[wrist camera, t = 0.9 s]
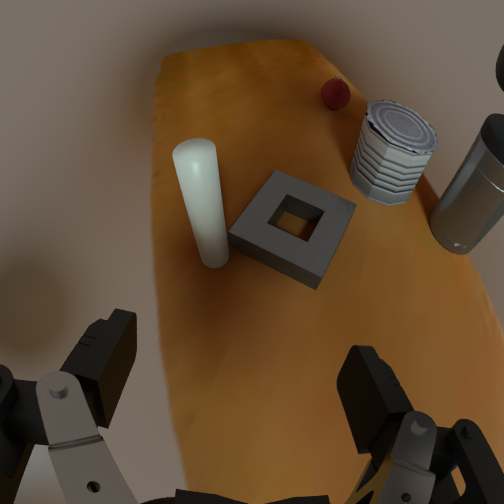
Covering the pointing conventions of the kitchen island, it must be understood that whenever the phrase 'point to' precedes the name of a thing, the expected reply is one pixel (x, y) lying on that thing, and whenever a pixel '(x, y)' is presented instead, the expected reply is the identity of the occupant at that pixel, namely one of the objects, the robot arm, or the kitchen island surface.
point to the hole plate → (284, 244)
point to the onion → (335, 93)
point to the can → (391, 152)
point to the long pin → (203, 198)
